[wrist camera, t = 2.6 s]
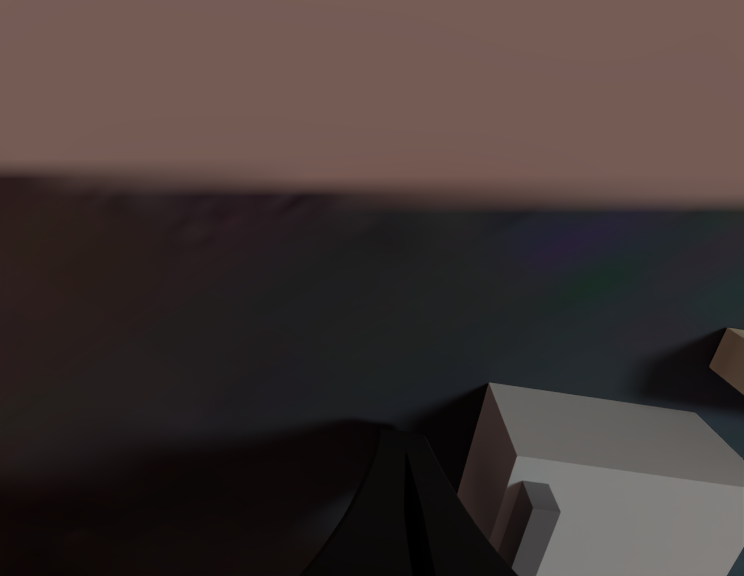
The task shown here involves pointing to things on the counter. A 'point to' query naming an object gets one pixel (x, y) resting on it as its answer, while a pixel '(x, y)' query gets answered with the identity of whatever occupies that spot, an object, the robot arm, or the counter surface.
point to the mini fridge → (602, 487)
